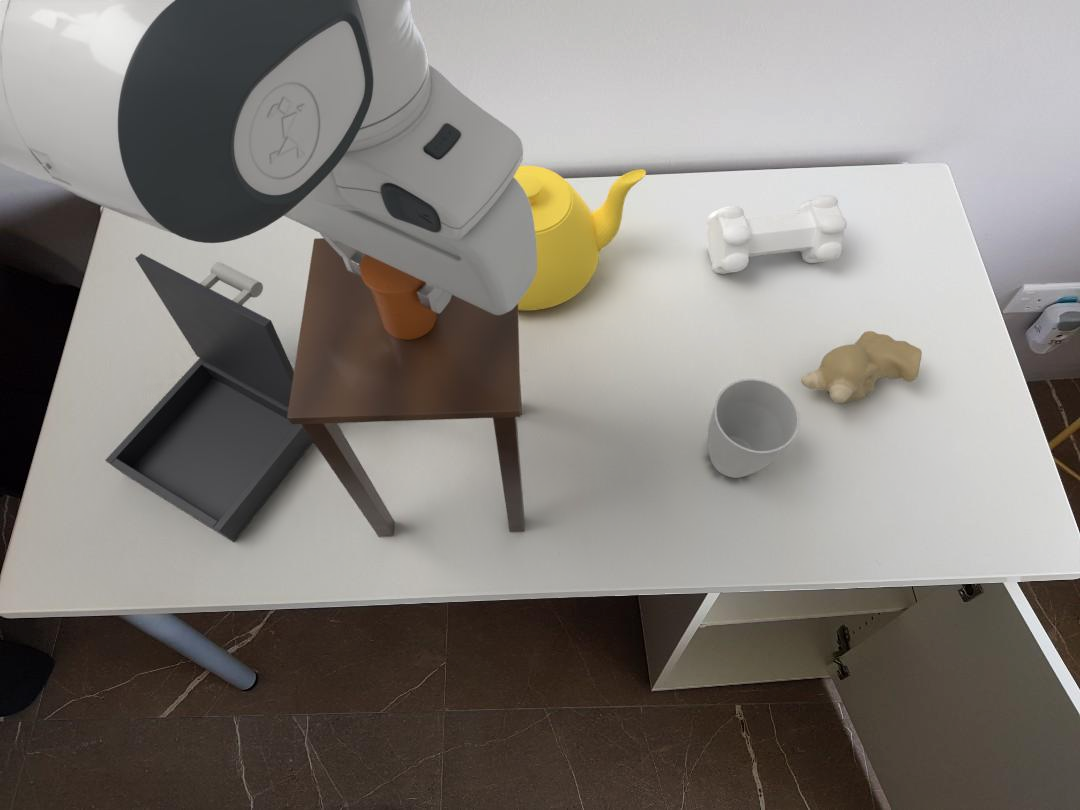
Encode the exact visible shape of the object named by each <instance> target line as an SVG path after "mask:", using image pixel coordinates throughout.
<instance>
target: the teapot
mask: <svg viewBox="0 0 1080 810" xmlns="http://www.w3.org/2000/svg"><path fill="white" fill-rule="evenodd" d="M646 175H647V171H646V170H645V169H641V168H640V169H634V170H630V171H629V172H626V173H624V174H623V175H621V176H619V177H618V178H617V179H616V180H615V181H614V182H613V183H612V185H611V187H610V188H609V190H608V193H607V195H606V198H605V201H604V202H603V204H602V205H601V206H600V207H598V208H596V209H595V210H593V211H591V210H590V208H589V206H588V205H587V203H586V201H585V200H584V199H583V197H582V196H581V195H580V193H578V191H577V190H576V189H575V188H574V187H573V186H572V185H571V184H570V182H568V181H567V180H566V179H565V178H564V177H562V176H561V175H559V173H557V172H555V171H553V170H551V169H549V168H545V167H542V166H535V165H520V166H519V168H518V170H517V171H516V173H515V175H514V178H515V179H516V180H517V181H518V182H519V183H520V185H521V186H522V188H523V189H524V191H525V193H526V194H527V197H528V199H529V202H530V205H531V209H532V214H533V220H534V226H535V235H536V246H537V271H536V275H535V278H534V280H533V282H532V283H531V285H530V287H529V288H528V290H527V291H526V293H525V294H524V296H523V297H522V299H521V300H520V301H519V303H518V311H538V310H544V309H549V308H552V307H556V306H558V305H561V304H564V303H565V302H568V301H569V300H571V299H572V298H574V297H575V296H577V295H578V294H579V293H581V292H582V291H583V289H585V287H586V286H587V285H588V284H589V282H590V281H591V280H592V278H593V276H594V274H595V273H596V270H597V268H598V264H599V259H600V251H602V250H603V249H604V248H605V247H606V246H608V244H610V243H611V242H612V241H613V240H614V238H616V236H617V234H618V232H619V230H620V228H621V224H622V219H623V213H624V212H623V211H624V204H625V200H626V198H627V195H628V193H629V192H630V190H631V189H632V187H634V186H635V185H636V184H638V183H639V182H640V181H641V180H643V178H644V177H645V176H646Z"/></svg>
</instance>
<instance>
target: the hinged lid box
mask: <svg viewBox="0 0 1080 810" xmlns="http://www.w3.org/2000/svg"><path fill="white" fill-rule="evenodd" d="M288 408H289V407H288V406H286V405H285V404H283V403H281V402H279V401H277V400H276V399H274V398H272V397H270V396H268V395H266V394H265V393H263V392H261V391H259V390H257V389H256V388H254V387H252V386H250V385H248V384H246V383H245V382H243V381H241V380H239V379H237V378H235V377H234V376H232V375H230V374H228V373H226V372H225V371H223V370H221V369H219V368H217V367H215V366H214V365H212V364H210V363H208V362H206V361H205V360H203V359H201V358H199V357H198V359H197V360H196V362H195V363H193V365H192V366H190V368H189V369H188V370H187V371H186V372H185V373H184V375H182V377H180V379H179V380H178V381H177V382H176V383H175V384H174V385H173V386H172V387H171V388H170V389H169V390H168V392H167V393H165V395H164V396H163V397H162V398H161V399H159V401H158V402H157V403H156V404H155V405H154V406H153V408H152V409H151V410H149V412H148V413H147V414H146V416H145V417H144V418H143V419H142V420H141V421H140V422H139V423H138V424H137V425H136V426H135V427H134V428H133V430H132V431H131V432H130V433H129V434H127V436H126V437H125V438H124V439H123V440H122V442H120V444H119V445H117V447H116V448H115V449H114V450H113V451H112V452H111V453H110V454H109V455H108V457H106V459H104V460H105V461H104V462H106V463H107V464H109V465H110V466H112V467H113V468H114V469H116V470H117V471H119V472H120V473H121V474H122V475H124V476H125V477H127V478H129V479H131V480H132V481H134V482H135V483H137V484H138V485H140V486H142V487H143V488H145V489H146V490H148V491H149V492H152V493H153V494H155V495H156V496H158V497H160V498H161V499H163V500H165V501H166V502H168V503H170V504H171V505H173V506H174V507H176V508H177V509H178V510H181V511H182V512H183V513H186V514H187V515H189V516H190V517H192V518H194V519H195V520H197V521H198V522H200V523H202V524H203V525H205V526H206V527H208V528H209V529H211V530H213V531H214V532H216V533H218V534H220V535H221V536H222V537H224V538H225V539H227V540H229V541H231V542H232V543H235V542H236V541H237V539H238V538H239V537H240V536H241V534H242V533H243V532H244V531H245V529H246V528H247V527H248V525H249V524H250V523H251V521H253V519H254V518H255V517H256V515H257V514H258V513H259V512H260V510H261V509H262V508H263V507H264V506H265V504H266V502H267V501H268V500H269V499H270V498H271V496H272V495H273V494H274V492H275V491H276V490H277V489H278V487H279V486H280V485H281V483H283V482H284V480H285V478H286V477H287V476H288V475H289V474H290V472H291V471H292V470H293V468H294V467H295V466H296V464H298V462H299V460H300V459H301V458H302V457H303V455H305V453H306V451H308V449H309V448H310V447H311V445H312V444H314V442H313V441H312V439H311V438H310V436H309V435H308V433H307V432H306V431H305V429H304V428H303V426H302V425H301V424H291V423H290V422H289V420H288V419H287V415H288Z"/></svg>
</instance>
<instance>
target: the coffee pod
mask: <svg viewBox="0 0 1080 810" xmlns="http://www.w3.org/2000/svg"><path fill="white" fill-rule="evenodd" d="M360 273H361V276H362V279H363V281H364V283H365V284H366V286H367V287H368V288H370V289H371V291H372V294H373V297H374V300H375V303H376V306H377V308H378V311H379V314H380V317H381V320H382V323H383V326H384V328H385V329H386V331H387V332H388V333H389V334H390V335H392V336H394V337H396V338H399V339H404V340H411V339H416V338H419V337H421V336H423V335H425V334H426V333H428V332H429V331H430V330H431V329H432V327H433V326H434V324H435V322H436V317H437V313H436V312H434V311H432V310H430V309H428V308H426V307H424V306H422V305H420V303H419V301H420V300H419V298H418V296H417V291H418V289H419V288H420V287H421V285H423V284H425V282H424V281H422V280H420V279H418V278H415V277H413V276H411V275H409V274H407V273H405V272H403V271H401V270H398V269H396V268H394V267H392V266H390V265H388V264H386V263H383V262H381V261H379V260H377V259H375V258H373V257H371V256H368V255H366V254H365V255H364V256H363V258H362V261H361V264H360Z"/></svg>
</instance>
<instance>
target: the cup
mask: <svg viewBox="0 0 1080 810" xmlns="http://www.w3.org/2000/svg"><path fill="white" fill-rule="evenodd" d="M799 427H800V415H799V411H798V409H797V406H796V403H795V402H794V400H793V399H792V397H791V396H790V395H789V394H788V393H787V392H786V391H785V390H784V389H782V388H781V387H780V386H779V385H776V384H775V383H772V382H770V381H767V380H765V379H760V378H743V379H742V378H741V379H738V380H735V381H733V382H731V383H729V384H728V385H726V386H725V387H724V388H722V390H721V391H720V392H719V393H718V395H717V397H716V400H715V403H714V406H713V409H712V413H711V416H710V418H709V423H708V429H707V442H706V443H707V451H708V455H709V459H710V462H711V464H712V466H713V467H714V469H715V470H716V471H717V472H719V473H720V474H721V475H723V476H726V477H728V478H735V479H736V478H737V479H738V478H743V477H746V476H751V475H754V474H755V473H758V472H759V471H761V470H763V469H764V468H765V467H766V466H768V465H770V464H771V463H772V462H773V461H774V460H776V459H777V458H778V457H779V456H780V455H781V454H782V452H783V451H784V450H786V448H787V447H788V446H789V445H790V443H792V442H793V440H794V439H795V437H796V436H797V433H798V431H799Z"/></svg>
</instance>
